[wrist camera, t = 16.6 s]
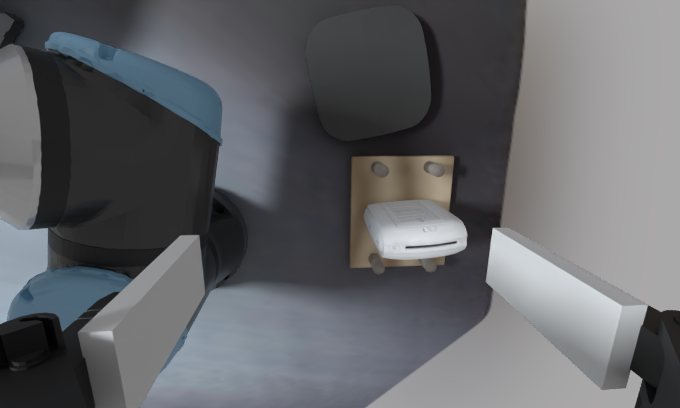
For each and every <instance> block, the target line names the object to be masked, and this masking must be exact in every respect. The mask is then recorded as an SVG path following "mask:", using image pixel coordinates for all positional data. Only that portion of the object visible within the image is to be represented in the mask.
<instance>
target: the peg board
mask: <svg viewBox="0 0 680 408" xmlns="http://www.w3.org/2000/svg"><path fill="white" fill-rule="evenodd" d="M453 165H454V156H451V155H446V156H351V196H350V260H349V265H350V268H366V267H372V269H373V271H374V273H375V274H382V273H383V272H384V270H385V267H395V266H423V267H424V268H425V270H426V271H427V272H434V271H435V270H436V268H437V265H444V262H445V256H442V257H435V258H427V259H413V260H397V259H388V258H383V257H381V255H380V253H379V251H378V249H377V247H376V245H375V243H374V241H373V239H372V237H371V235H370V233H369V231H368V228H367V226H366V224H365V222H364V212H365V210H366V208H367V206H368V205H370V204H374V203H382V202H392V201H404V200H432V201H434V202H436V203H437V204H439V205H440V206H442V207H443V208H444V209H446V210H447V211H449V208H450V197H451V186H452V175H453Z"/></svg>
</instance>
